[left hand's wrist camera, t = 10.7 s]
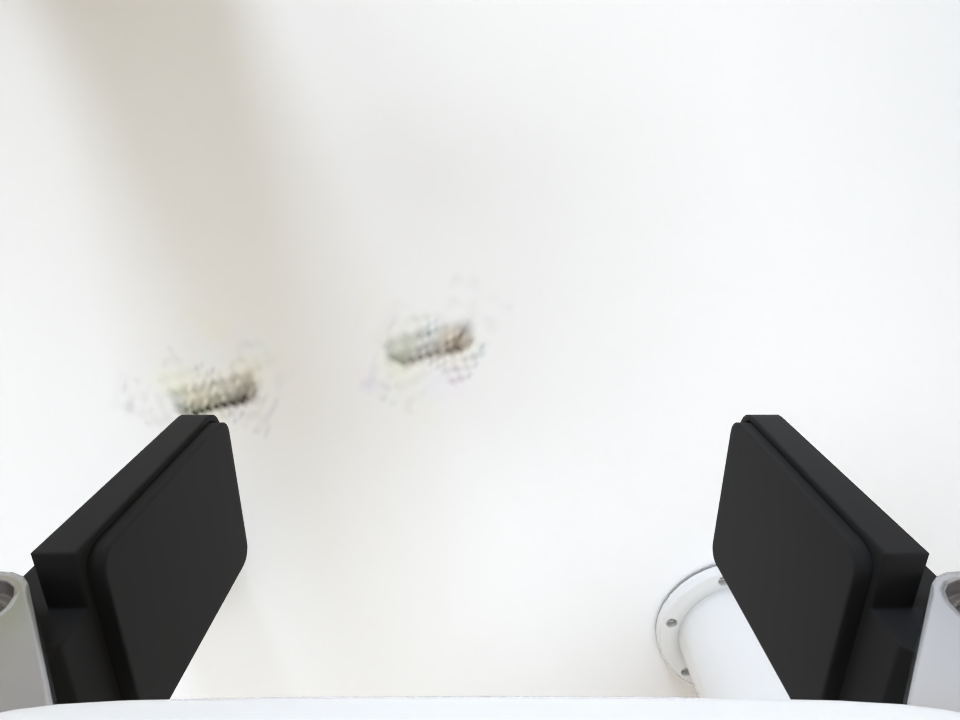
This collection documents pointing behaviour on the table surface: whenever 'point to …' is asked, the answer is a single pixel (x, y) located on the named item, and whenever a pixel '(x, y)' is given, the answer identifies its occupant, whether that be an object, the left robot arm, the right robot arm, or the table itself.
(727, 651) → the right robot arm
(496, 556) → the table surface
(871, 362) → the table surface
